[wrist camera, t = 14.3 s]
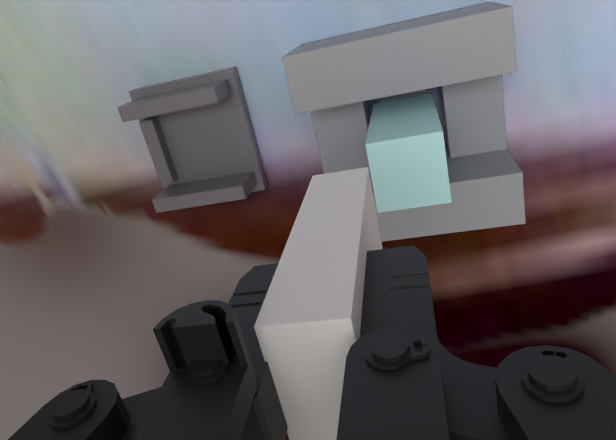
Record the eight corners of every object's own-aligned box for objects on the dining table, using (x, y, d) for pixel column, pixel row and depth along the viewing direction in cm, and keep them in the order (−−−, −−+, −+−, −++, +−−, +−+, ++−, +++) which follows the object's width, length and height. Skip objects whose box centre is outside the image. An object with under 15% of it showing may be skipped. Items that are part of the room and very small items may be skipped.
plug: (383, 144, 36) (377, 212, 25) (375, 94, 35) (365, 144, 24) (435, 135, 35) (451, 202, 24) (428, 84, 34) (442, 131, 23)
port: (339, 211, 39) (327, 255, 32) (302, 43, 34) (281, 57, 28) (503, 188, 36) (525, 231, 30) (489, 1, 31) (512, 6, 25)
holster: (174, 200, 41) (153, 220, 37) (135, 89, 37) (107, 100, 34) (268, 185, 39) (255, 205, 35) (236, 66, 35) (217, 76, 32)
